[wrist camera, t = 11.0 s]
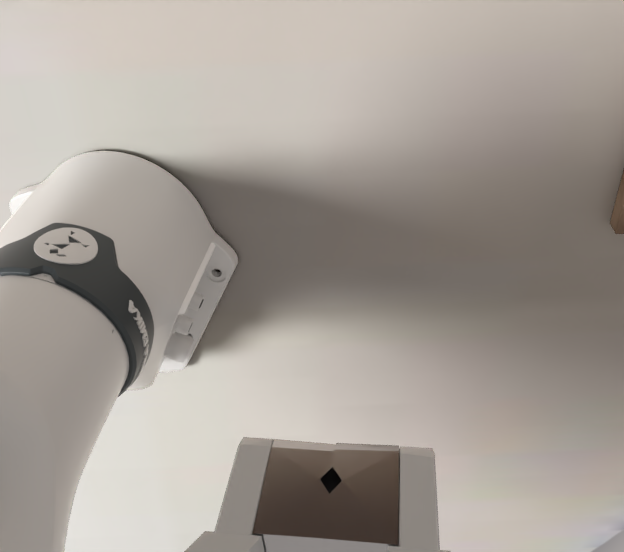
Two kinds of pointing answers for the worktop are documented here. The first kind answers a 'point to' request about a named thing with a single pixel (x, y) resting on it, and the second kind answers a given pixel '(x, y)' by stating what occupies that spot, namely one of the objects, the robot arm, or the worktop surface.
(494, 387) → the worktop surface
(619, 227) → the latch base
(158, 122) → the worktop surface
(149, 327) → the robot arm
